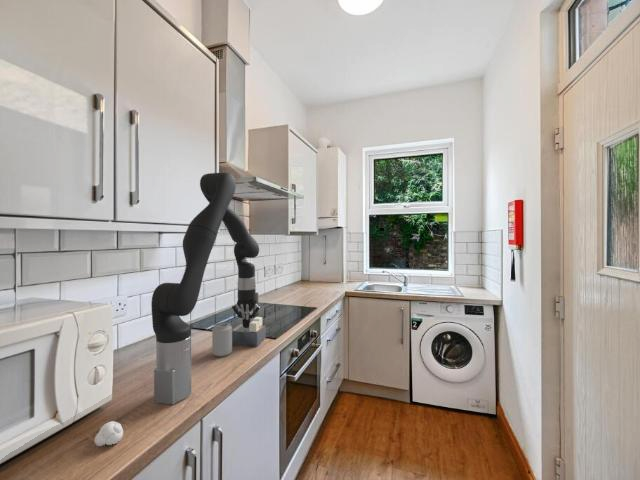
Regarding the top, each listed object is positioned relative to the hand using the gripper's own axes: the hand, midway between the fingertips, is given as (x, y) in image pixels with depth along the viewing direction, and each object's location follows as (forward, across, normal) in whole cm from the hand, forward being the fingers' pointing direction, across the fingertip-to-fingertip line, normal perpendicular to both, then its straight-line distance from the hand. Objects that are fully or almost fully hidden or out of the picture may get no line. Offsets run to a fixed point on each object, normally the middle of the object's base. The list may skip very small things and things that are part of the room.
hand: (246, 327), depth 125 cm
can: (+8, -5, -11) cm, 14 cm away
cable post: (+7, 0, +11) cm, 13 cm away
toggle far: (+1, +3, +6) cm, 7 cm away
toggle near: (+1, +4, 0) cm, 4 cm away
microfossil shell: (+8, -6, -61) cm, 62 cm away
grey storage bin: (+7, 0, +3) cm, 8 cm away
